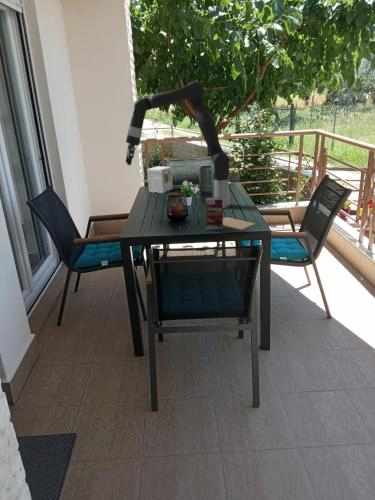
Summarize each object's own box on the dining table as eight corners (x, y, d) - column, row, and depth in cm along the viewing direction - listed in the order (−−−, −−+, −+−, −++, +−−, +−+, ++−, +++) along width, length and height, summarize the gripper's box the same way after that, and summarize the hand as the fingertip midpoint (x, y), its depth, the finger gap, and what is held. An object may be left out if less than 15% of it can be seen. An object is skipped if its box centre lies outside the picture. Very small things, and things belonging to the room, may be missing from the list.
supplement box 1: (162, 193, 288) (161, 169, 281) (148, 192, 295) (146, 168, 288) (173, 189, 298) (171, 166, 292) (159, 188, 305) (157, 165, 299)
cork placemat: (226, 218, 221) (226, 217, 221) (255, 224, 207) (255, 223, 207) (212, 223, 213) (212, 222, 213) (241, 230, 200) (241, 229, 200)
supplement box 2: (206, 230, 202) (205, 200, 197) (206, 227, 207) (205, 198, 201) (223, 229, 203) (222, 199, 197) (222, 226, 207) (221, 197, 201)
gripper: (142, 138, 215) (135, 167, 220) (139, 136, 228) (133, 163, 233) (128, 134, 213) (122, 164, 217) (126, 132, 226) (120, 160, 230)
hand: (128, 163), depth 225 cm, fingers open, 8 cm apart
